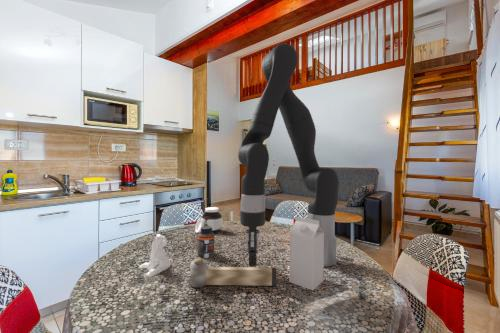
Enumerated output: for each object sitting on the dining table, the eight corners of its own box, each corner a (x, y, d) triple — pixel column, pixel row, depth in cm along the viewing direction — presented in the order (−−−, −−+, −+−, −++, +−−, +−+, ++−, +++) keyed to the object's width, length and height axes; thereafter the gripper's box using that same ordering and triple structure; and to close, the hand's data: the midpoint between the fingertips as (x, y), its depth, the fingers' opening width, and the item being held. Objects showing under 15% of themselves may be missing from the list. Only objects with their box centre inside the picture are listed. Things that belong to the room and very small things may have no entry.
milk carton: (300, 277, 72) (301, 215, 72) (323, 284, 68) (324, 218, 68) (289, 286, 67) (289, 219, 67) (312, 295, 62) (313, 223, 62)
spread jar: (224, 230, 121) (224, 208, 121) (209, 236, 111) (209, 211, 111) (206, 227, 127) (206, 205, 127) (191, 232, 118) (191, 209, 118)
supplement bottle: (210, 262, 83) (211, 230, 82) (194, 260, 84) (195, 228, 84) (216, 255, 88) (216, 225, 88) (201, 254, 90) (201, 224, 90)
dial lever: (188, 287, 63) (188, 263, 63) (192, 279, 67) (192, 256, 67) (276, 288, 63) (277, 264, 62) (275, 280, 67) (275, 257, 67)
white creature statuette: (137, 270, 76) (137, 233, 76) (164, 263, 81) (164, 228, 81) (146, 282, 68) (146, 241, 68) (175, 273, 74) (175, 235, 74)
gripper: (265, 213, 66) (265, 275, 66) (264, 205, 79) (264, 257, 79) (238, 213, 66) (238, 275, 66) (241, 205, 79) (241, 256, 79)
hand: (252, 265), depth 73 cm, fingers closed
